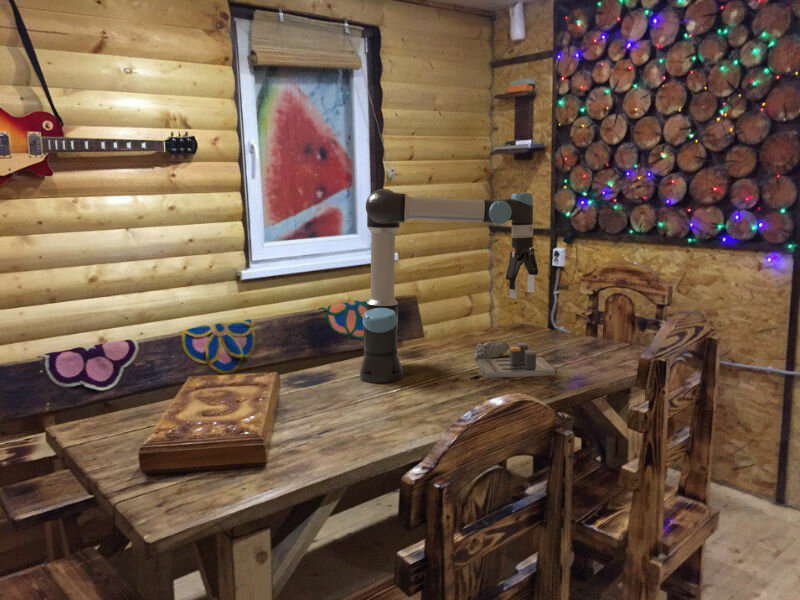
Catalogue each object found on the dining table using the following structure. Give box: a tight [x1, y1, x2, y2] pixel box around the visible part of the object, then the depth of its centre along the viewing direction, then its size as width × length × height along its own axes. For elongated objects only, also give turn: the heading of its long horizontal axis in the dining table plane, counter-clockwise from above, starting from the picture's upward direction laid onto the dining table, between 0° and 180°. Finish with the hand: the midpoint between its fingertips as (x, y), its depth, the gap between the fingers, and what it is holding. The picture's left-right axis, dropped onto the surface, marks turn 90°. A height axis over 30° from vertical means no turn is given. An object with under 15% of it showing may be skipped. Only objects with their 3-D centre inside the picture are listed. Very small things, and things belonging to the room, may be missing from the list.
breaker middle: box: [509, 346, 521, 365], centre depth 232 cm, size 3×4×6 cm
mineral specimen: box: [473, 340, 511, 361], centre depth 250 cm, size 16×7×7 cm, turn 119°
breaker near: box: [525, 349, 537, 369], centre depth 227 cm, size 3×4×6 cm
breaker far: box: [516, 342, 529, 361], centre depth 238 cm, size 3×4×6 cm
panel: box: [477, 356, 556, 379], centre depth 233 cm, size 24×17×2 cm
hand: (522, 295), depth 236 cm, fingers open, 13 cm apart
